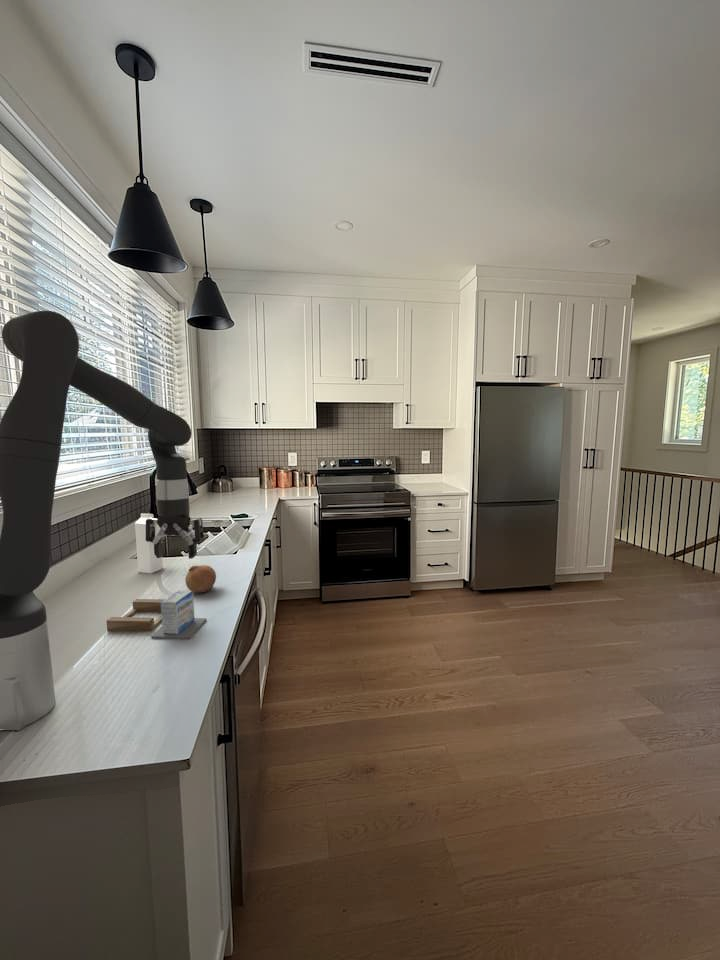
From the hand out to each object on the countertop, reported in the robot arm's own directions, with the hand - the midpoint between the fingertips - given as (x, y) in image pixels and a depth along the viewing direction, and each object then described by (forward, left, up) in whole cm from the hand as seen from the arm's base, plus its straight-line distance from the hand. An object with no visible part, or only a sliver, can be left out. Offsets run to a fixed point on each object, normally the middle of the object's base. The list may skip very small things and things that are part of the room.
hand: (176, 557), depth 103 cm
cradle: (+5, +13, -20) cm, 24 cm away
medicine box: (0, 0, -19) cm, 19 cm away
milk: (+44, +33, -20) cm, 59 cm away
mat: (0, 0, -20) cm, 20 cm away
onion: (+25, +5, -20) cm, 33 cm away
